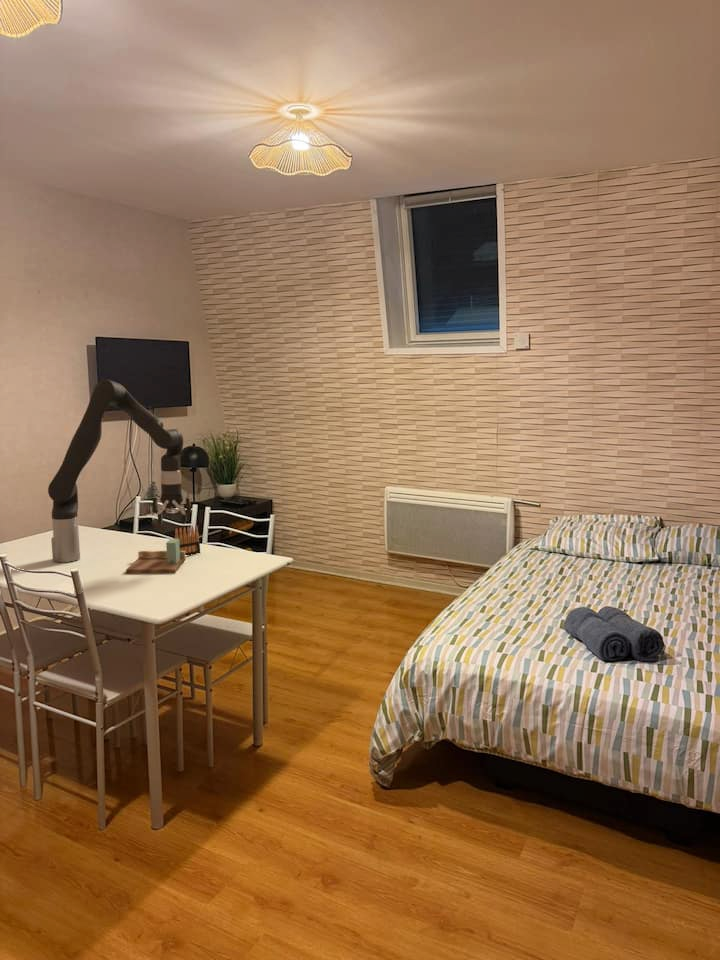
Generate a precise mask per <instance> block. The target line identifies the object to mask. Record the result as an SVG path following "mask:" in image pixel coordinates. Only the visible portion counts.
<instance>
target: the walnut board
mask: <svg viewBox="0 0 720 960" xmlns="http://www.w3.org/2000/svg"><path fill="white" fill-rule="evenodd" d="M137 554H138V557H137V559H136V560H135V561H133V563H132V564H131V565H129V566H128V567H127V568H126V569H125V574H176V573H177V572H178V570H180V568H181V567H182V566H181V565H183V564H184V563H185V562H186V561H185V560H186V556H185V551H180V560H179V561H178V562H177V563H167V550H139V551H138V552H137ZM184 561H185V562H184ZM180 566H181V567H180ZM176 571H177V572H176Z"/></svg>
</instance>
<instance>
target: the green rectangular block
mask: <svg viewBox="0 0 720 960" xmlns="http://www.w3.org/2000/svg"><path fill="white" fill-rule="evenodd" d="M165 543H166V551H167V563H177V562H178V561H179V560H180V544H179V539H175V538H170V539H168V541H166V542H165Z"/></svg>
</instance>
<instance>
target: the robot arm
mask: <svg viewBox="0 0 720 960" xmlns="http://www.w3.org/2000/svg"><path fill="white" fill-rule="evenodd" d="M108 406H114V407H115V408H118V409H120V410H121V411H123V412H124V413H126V414H127V415H128V416H129V417H130V418H131V420H132V421H133V422H134V424H135V425H137V426H138V427H139V428H140V429H142V430H143V431H144V432H145V433H146V434H148V435H149V437H150V439H152V441H153V442H154V444H155V445H156V446H157V447H158V448H161V449H163V450H166V451H165V453H164V455H162V456H161V458H160V490H161V492H160V494H161V495H160V497H159V496H157V495H155V496H154V497H152V513H154V514H157V522H158V523H159V524H160V525H162V524H163V523H164V518H163V517H164V515H163V512H164V510H166V509H168V510H169V509H177V510H178V511H180V513H181V524H182V525H186V523H187V521H188V520H187V519H188V518H187V515H188V514H190V513H191V512H192V501H191V497H190V496H187V497H183V495H182V494H183V492H182V487H183V486H182V482H183V481H182V472H181V456H182V452H183V447H184V435H183V434H182V432H181V431H180V430H179V429H176V428H175V429H174V428H171V429H165V428H164V422H163V421H162V420H161V419H160V418H159V417H157V416H156V415H155V414H154V413H152V412H151V411H150V410H148V409H147V408H145V406H143V405H142V404H141V403H140V402H138V401H137V400H136V399H135V398H134V397H133V396H132V395H131V393H130V392H129V391H128V390H127V389H126V388H125V386H123V385H122V384H121V383H119V382H116V381H113V380H112V379H111V380H110V379H107V378H106V379H104V378H103V379H101V380H100V381H98V382H97V383H96V385H95V386H94V389H93V391H92V394H91V397H90V399H89V402H88V405H87V408H86V409H85V412H84V415H83V416H82V418H81V421H80V423H79V426H78V427H77V429H76V431H75V433H74V435H73V436H72V439H71V441H70V444H69V445H68V448H67V450H66V453H65V456H64V458H63V461H62V463H61V465H60V467H59V468H58V470H57V472H56V473H55V475H54V477H53V479H52V480H51V481H50V482H49V484H48V487H47V494H48V496H49V498H50V499H51V500H52V502H53V504H52V509H51V520H52V522H51V523H52V537H51V553H52V562H55V561H57V562H56V563H71V562H70V561H73V562H76V561H75V560H77V561H78V559H79V560H80V559H81V550H80V536H79V535H80V533H79V532H80V531H79V519H78V509H79V494H78V485H77V481H78V478H79V476H80V474H81V472H82V471H83V469H84V468H85V467H86V465H87V464H88V462H89V461H90V459H91V458H92V456H93V455H94V453H95V452H96V450H97V448H98V445H99V443H100V441H101V439H102V433H103V432H102V428H103V427H102V424H103V423H102V422H103V418H104V414H105V412H106V411H107V408H108ZM159 502H160V503H162V505H161V506H160V508H159V509H158V503H159ZM182 502H183V503H185V505H186V506H185V507H186V508H185V507H184V505H183V504H182Z"/></svg>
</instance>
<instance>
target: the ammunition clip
mask: <svg viewBox="0 0 720 960" xmlns="http://www.w3.org/2000/svg"><path fill="white" fill-rule="evenodd" d="M199 538H200V537H199V529H198V525H197V524H196V525H195V527H194V525H191V528H190V526H187V529H186V527H185V526H184V527H183V530H182V527H179V530H178V528H176V527H175V532H174V539H179V544H180V551H185V555H190V556H192V555H191V554H195V555H197V554H196V553H200V554H201V545H200V539H199Z"/></svg>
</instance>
